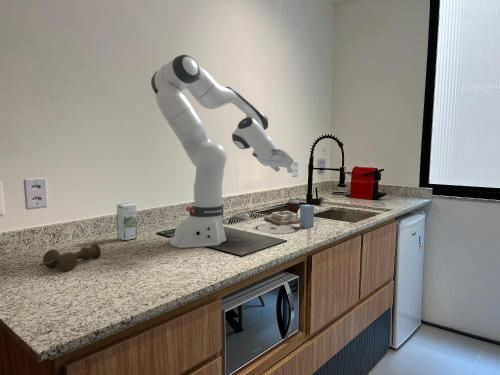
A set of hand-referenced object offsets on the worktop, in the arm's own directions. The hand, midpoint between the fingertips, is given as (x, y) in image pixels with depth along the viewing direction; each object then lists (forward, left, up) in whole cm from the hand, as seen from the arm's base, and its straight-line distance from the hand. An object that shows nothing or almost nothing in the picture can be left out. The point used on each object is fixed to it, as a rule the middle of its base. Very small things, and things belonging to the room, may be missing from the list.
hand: (284, 171), depth 168 cm
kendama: (-88, -15, -27) cm, 93 cm away
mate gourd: (+23, +30, -27) cm, 46 cm away
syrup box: (-67, +12, -27) cm, 73 cm away
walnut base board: (+9, +15, -26) cm, 32 cm away
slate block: (+12, 0, -26) cm, 29 cm away
